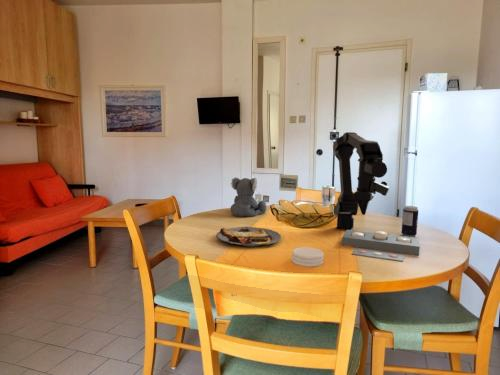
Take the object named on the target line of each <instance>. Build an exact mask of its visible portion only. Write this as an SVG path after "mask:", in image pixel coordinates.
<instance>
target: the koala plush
mask: <svg viewBox="0 0 500 375" xmlns="http://www.w3.org/2000/svg"><path fill="white" fill-rule="evenodd" d="M230 184H231V185H230V186H231V188H232V189H233V190H235V191H236V194H237V195H236V196H234V200H233V201H234V203H232V204H231V205H230V209H229V210H230V211H231V213H232V215H233V216H235V217H240V218H241V217H248V218H249V217H250V218H251V217H256V216H260V215H263V214H265V213H266V212H267V203H266V201H265V200H260V201H258V202H257V200H256V198H254V197H253V196H254V194H255V191H256V189H257V187H258V186H257V184H258V178H256V177H252V178H250V179H249V178H247V177H244V178H241V179H240V178H238V177H234V178H231V182H230Z"/></svg>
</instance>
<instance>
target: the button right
mask: <svg viewBox="0 0 500 375" xmlns="http://www.w3.org/2000/svg"><path fill="white" fill-rule="evenodd" d="M397 241H399V242H407V243H410V239H408V238H402V237H400V238H397Z"/></svg>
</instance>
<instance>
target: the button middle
mask: <svg viewBox="0 0 500 375" xmlns="http://www.w3.org/2000/svg"><path fill="white" fill-rule="evenodd" d="M373 233H374V239H383V240H387V234H388V233H387V231H381V230H376V231H374V232H373Z"/></svg>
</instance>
